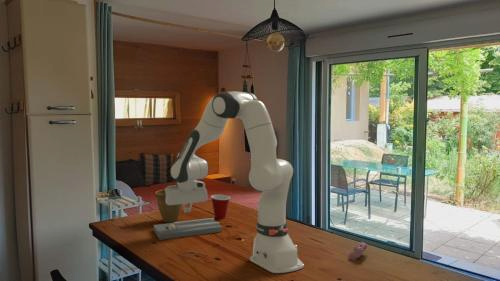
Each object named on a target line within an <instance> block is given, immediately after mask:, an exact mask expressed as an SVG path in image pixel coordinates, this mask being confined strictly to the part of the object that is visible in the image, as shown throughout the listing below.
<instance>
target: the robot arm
mask: <svg viewBox="0 0 500 281" xmlns="http://www.w3.org/2000/svg"><path fill="white" fill-rule="evenodd" d="M229 119H240V120H241V121H242V123H243V127H244V131H245V135H246V138H247V142H248V146H249V149H250V150H249V151H250V171H249V173H248V181H249V183H250V185H251V187H252V188H253V189H255V190H256V191H260V192H261V196H260V197H259V200H258V202H257V222H256V235H255V237H254V238H253V247H252V255H251V256H249V261H250V262H252V263H254V264H256V265H257V266H259V267H261V268H262V269H263V270H264V269H265V270H266V271H268V272H270V273H273V274H283V273H290V272H295V271H298V270H299V271H300V270H301V269H303V268H304V267H305V264H304V263H303V261H302V260H301V259H300V258H299V257H298V248H299V247H298V245H297V244H294V243H293V241H292V239H291V237H290V235H289V228H288V224H287V222H286V218H287V214H286V213H287V210H286V209H287V200H288V199H287V198H288V193H289V189H290V184H291V180H292V178H293V174H294V168H293V166H292V164H291V162H289V161H288V160H284V159H281V158H277V145H278V140H277V137H276V133H275V130H274V127H273V122H272V120H271V116H270V114H269V111H268V109H267V107H266V105H265V103H264V102H262V101H260V100H258V98H257V96H256V95H255V94H254V93H252V92H248V91H235V90H233V91H223V92H218V93H217V94H215V96H214V97H212V98H211V99H210V100H209V101H208V103H207V105H206V107H205V109H204V111H203V113H202V116H201V118H200V121H199V123H198V124H197V125H196V127H195V128H194V129H193V130H192V131H191V132H190V133H189V134H188V136H187V138H186V140H185V141H184V144H183V146H182V147H181V150H180V152H178V153H177V156H176V159H175V160H174V161H173V162H172V165H171V167H170V170H169V171H170V177H171V178H172V179H173V180H174V181H175V182H176V184H174V185H168V186H166V187H165V188H164V190H165V194H166V204H167V205H177V204H181V206H182V207H181V208H183V213H184V214H185V213H191V210H192V207H193V205H194V204H193V203H201V202H207V201H208V190H207V188H206V183H205V182H203V181H201V179H205V178H207V176H208V174H209V173H210V166H209V162H208V161H207V160H205V159H204V158H201V157H199V156H197V155H196V151H197V150H198V149H199V148H200V147H202V146H204V145H206V144H209V143H211V142H215V141H216V140H218V139H219V138H220V137H221V136H222V135H223V134H224V131H225V129H226V125H227V123H228V120H229ZM186 204H188V205H189V206H188V207H186Z"/></svg>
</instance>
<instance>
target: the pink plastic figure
mask: <svg viewBox="0 0 500 281" xmlns="http://www.w3.org/2000/svg"><path fill="white" fill-rule="evenodd" d="M367 247H368V244H367V243H366V242H364V241H362V242H359V243H358V244H357V246H355V247H354V248H353V251H352V252H350V253H349V254H348V259H349V260H355V259H360V257H361V256H364V254H365V251H366V250H367Z"/></svg>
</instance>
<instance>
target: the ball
mask: <svg viewBox="0 0 500 281" xmlns="http://www.w3.org/2000/svg"><path fill="white" fill-rule="evenodd" d="M171 229H176V227H175V226H174V225H169V226H168V228H167V230H171Z"/></svg>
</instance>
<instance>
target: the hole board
mask: <svg viewBox="0 0 500 281" xmlns="http://www.w3.org/2000/svg"><path fill="white" fill-rule="evenodd" d="M169 225H174V226H175V227H176V229H171V230H167V228H168V226H169ZM153 231H154V233H155V235H156V237H158V240H160V241H162V240H168V239H169V240H170V239H177V238H178V239H179V238H185V237H193V236H198V235H207V234H215V233H222V231H223V226H222V225H221V224H220V222H219V221H215V218H214V217H210V218H201V219H192V220H183V221H176V222H171V223H167V222H166V223H160V224H153Z"/></svg>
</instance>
